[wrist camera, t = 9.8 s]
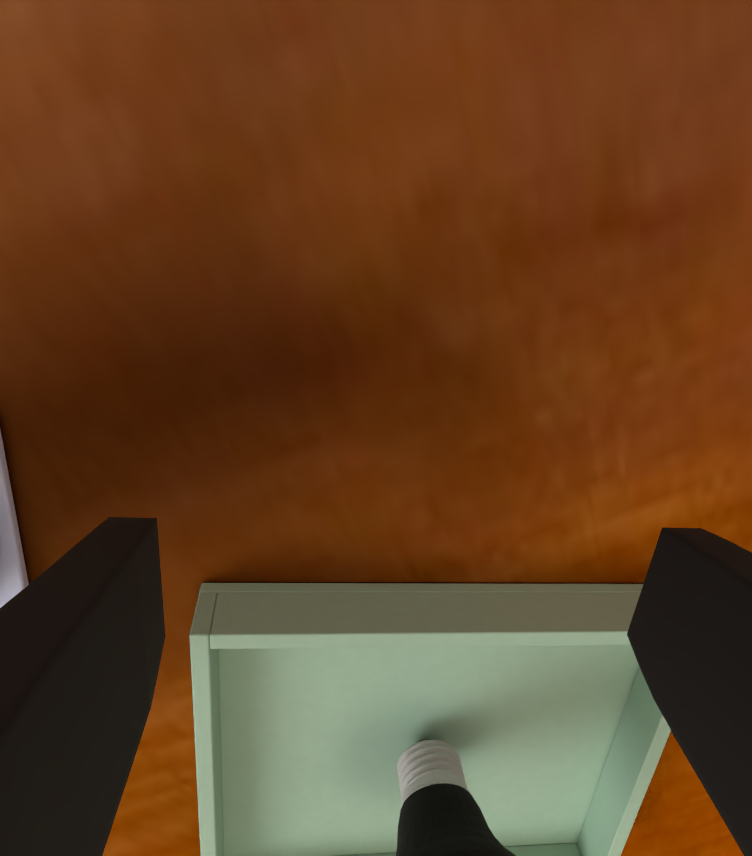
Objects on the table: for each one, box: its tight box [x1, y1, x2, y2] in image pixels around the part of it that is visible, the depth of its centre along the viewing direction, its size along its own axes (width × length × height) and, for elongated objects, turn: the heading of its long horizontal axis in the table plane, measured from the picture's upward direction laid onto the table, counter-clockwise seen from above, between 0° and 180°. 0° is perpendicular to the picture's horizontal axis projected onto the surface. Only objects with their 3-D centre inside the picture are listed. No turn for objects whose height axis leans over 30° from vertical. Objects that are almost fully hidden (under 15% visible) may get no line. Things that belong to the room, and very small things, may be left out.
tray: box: [189, 583, 671, 856], centre depth 24 cm, size 17×15×2 cm
